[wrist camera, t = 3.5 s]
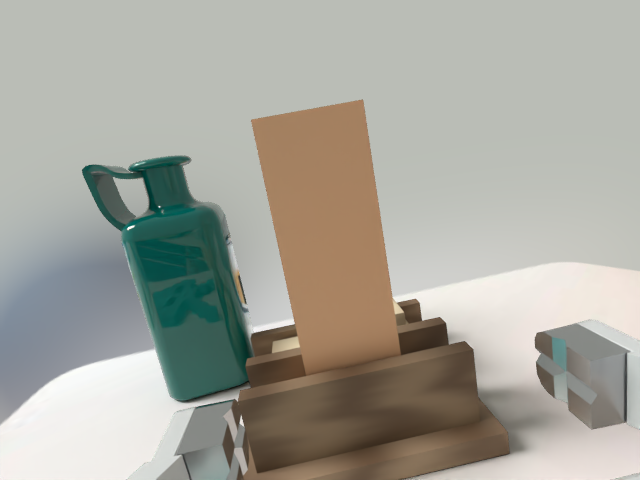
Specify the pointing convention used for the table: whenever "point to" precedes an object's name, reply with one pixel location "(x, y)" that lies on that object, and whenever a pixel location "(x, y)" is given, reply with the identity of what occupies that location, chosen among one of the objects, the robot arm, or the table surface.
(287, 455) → the rack
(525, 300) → the table surface
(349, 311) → the panel
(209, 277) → the pitcher
